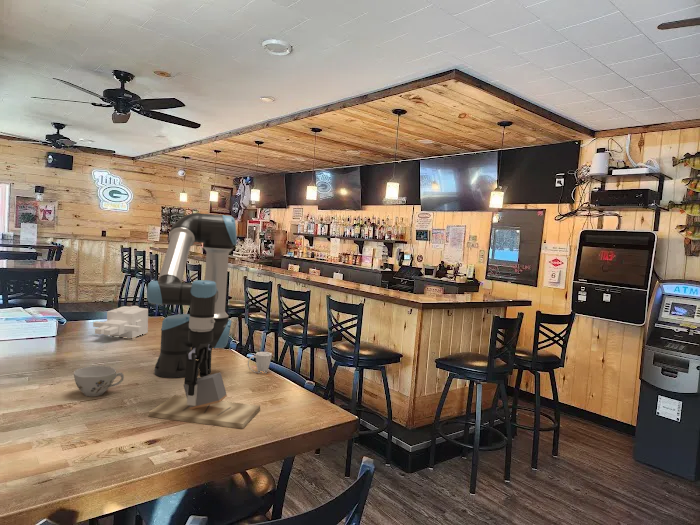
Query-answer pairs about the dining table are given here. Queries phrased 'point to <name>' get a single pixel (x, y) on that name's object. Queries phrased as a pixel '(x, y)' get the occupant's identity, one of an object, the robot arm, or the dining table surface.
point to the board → (206, 412)
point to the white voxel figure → (124, 322)
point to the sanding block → (208, 390)
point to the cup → (262, 361)
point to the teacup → (96, 379)
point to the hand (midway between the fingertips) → (196, 401)
